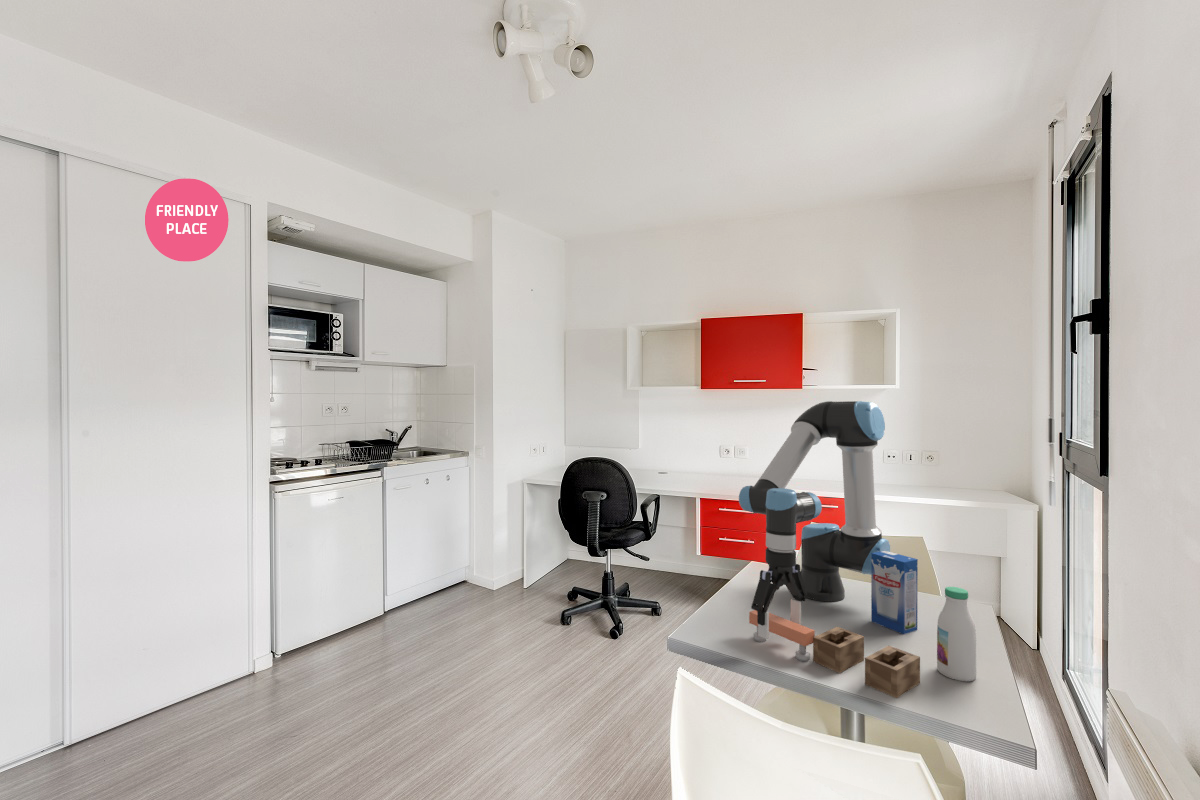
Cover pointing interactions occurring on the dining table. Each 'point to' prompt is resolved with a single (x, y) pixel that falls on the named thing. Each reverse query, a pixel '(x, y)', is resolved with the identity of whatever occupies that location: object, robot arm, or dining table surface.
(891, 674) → the keyhole plates
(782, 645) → the dining table surface
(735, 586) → the dining table surface
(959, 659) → the milk bottle
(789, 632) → the salmon bridge bar
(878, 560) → the milk carton
